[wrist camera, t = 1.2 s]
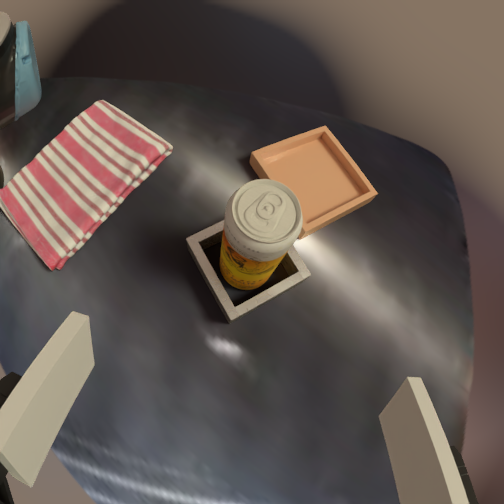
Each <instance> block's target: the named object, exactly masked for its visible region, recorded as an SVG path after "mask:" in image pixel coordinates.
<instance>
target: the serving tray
mask: <svg viewBox="0 0 504 504" xmlns="http://www.w3.org/2000/svg"><path fill="white" fill-rule="evenodd" d="M249 163H250V165H251V166H252V168H253V169H254V171H255V172H256V174H257V175H258V176H259V178H260V179H270V180H275V181H278V182H280V183H282V184H284V185H285V186H287V187H288V188H289V189H291V190H292V191H293V193H294V194H295V195H296V197H297V198H298V200H299V202H300V206H301V211H302V216H303V224H302V229H301V232H300V234H299V236H298V237H299V239H300V240H301V239H302V238H304V237H306V236H308V235H310V234H312V233H314V232H315V231H317V230H319V229H321V228H323V227H325V226H327V225H328V224H330V223H332V222H334V221H336V220H338V219H339V218H341V217H343V216H345V215H347V214H349V213H351V212H352V211H354V210H356V209H358V208H360V207H362V206H363V205H365V204H367V203H369V202H370V201H371V200H372V199H373V198H374V197H375V196H376V195H377V194H378V193H377V192H376V191H375V189H374V188H373V186H372V185H371V184H370V182H369V181H368V179H367V178H366V177H365V175H364V174H363V173H362V171H361V170H360V169H359V167H358V166H357V165H356V163H355V162H354V161H353V159H352V158H351V157H350V156H349V154H348V153H347V152H346V150H345V149H344V148H343V147H342V145H341V144H340V143H339V142H338V140H337V139H336V138H335V137H334V135H333V134H332V133H331V132H330V131H329V129H328V128H327V127H326V126H323V127H320V128H317V129H314V130H311V131H308V132H305V133H302V134H299V135H297V136H294V137H291V138H288V139H285V140H283V141H280V142H277V143H274V144H272V145H269V146H266V147H264V148H261V149H259V150H256V151H253V152H252V153H251V157H250V162H249Z"/></svg>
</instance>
